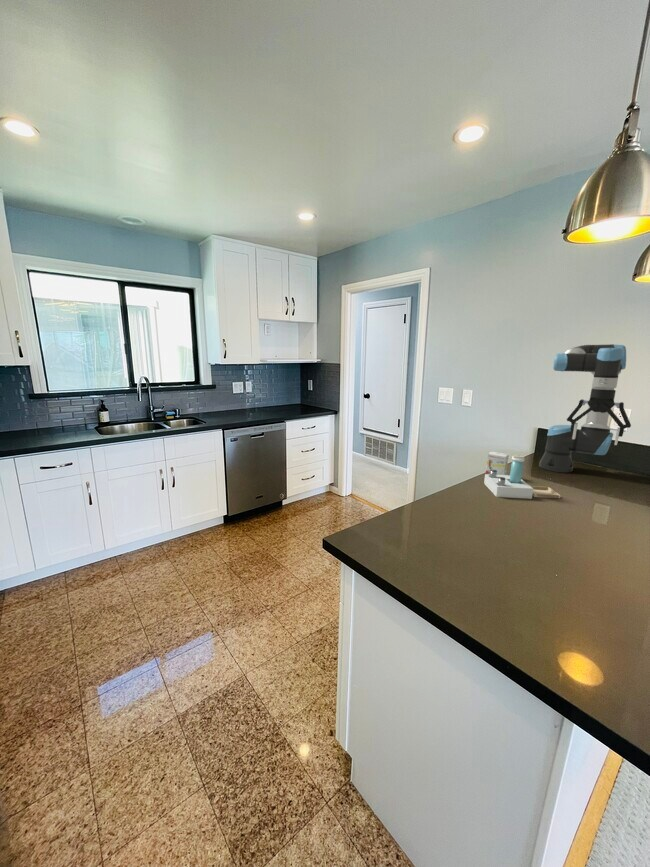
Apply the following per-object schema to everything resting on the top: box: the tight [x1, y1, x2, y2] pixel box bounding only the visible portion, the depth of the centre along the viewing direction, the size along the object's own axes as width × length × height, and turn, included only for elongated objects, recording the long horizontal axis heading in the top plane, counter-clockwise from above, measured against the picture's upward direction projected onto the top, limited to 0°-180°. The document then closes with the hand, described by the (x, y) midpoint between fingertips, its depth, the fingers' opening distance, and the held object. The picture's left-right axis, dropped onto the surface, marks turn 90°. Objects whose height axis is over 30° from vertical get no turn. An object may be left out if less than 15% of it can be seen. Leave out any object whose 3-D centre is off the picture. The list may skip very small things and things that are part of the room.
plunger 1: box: [490, 470, 497, 478], centre depth 158 cm, size 3×3×5 cm
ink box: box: [485, 451, 509, 475], centre depth 171 cm, size 9×5×12 cm, turn 50°
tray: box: [530, 485, 561, 499], centre depth 151 cm, size 10×10×2 cm
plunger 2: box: [498, 477, 505, 486], centre depth 148 cm, size 3×3×5 cm
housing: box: [483, 473, 533, 500], centre depth 153 cm, size 16×14×5 cm
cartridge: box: [509, 455, 526, 484], centre depth 151 cm, size 5×5×16 cm
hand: (594, 441), depth 141 cm, fingers open, 13 cm apart
